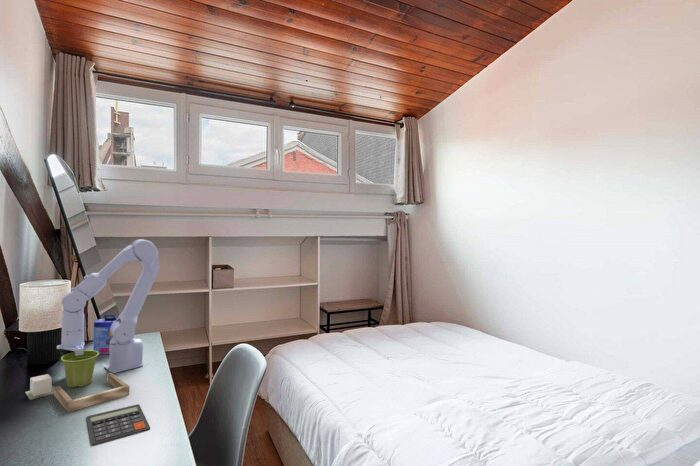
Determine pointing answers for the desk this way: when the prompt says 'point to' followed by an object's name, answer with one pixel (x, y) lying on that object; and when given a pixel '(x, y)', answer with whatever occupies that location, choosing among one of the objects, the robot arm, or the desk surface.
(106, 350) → the ink cartridge box
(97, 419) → the calculator
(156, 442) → the desk surface
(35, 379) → the cream block
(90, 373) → the plant pot
